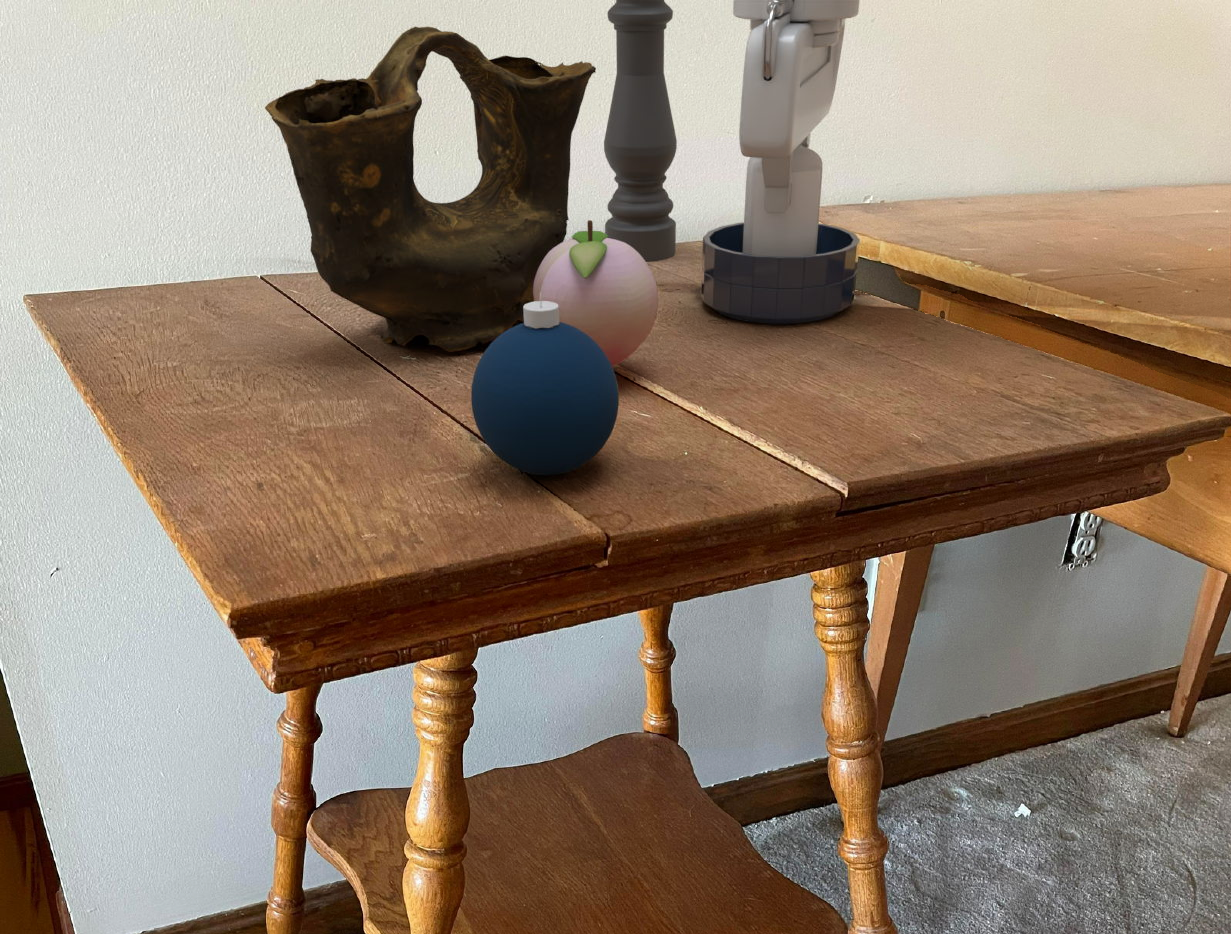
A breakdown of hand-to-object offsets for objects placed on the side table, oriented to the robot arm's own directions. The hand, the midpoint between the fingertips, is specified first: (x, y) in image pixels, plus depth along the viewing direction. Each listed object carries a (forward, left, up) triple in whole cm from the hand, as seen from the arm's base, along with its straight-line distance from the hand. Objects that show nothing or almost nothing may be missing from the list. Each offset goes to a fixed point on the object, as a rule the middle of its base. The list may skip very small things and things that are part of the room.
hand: (783, 203), depth 97 cm
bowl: (0, 0, -8) cm, 8 cm away
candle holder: (+14, -10, -8) cm, 19 cm away
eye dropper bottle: (0, 0, -5) cm, 5 cm away
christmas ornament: (+7, +37, -8) cm, 38 cm away
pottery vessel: (+22, +13, -8) cm, 27 cm away
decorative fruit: (+9, +20, -8) cm, 23 cm away
